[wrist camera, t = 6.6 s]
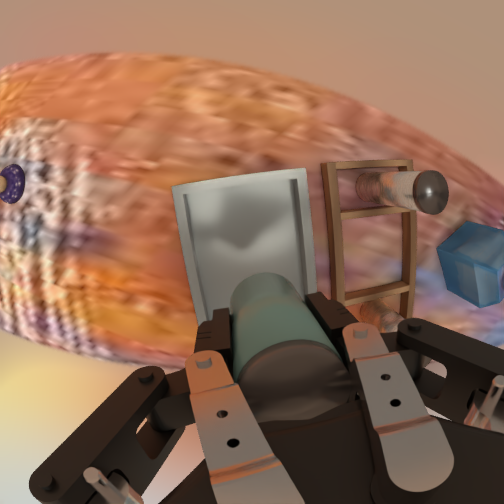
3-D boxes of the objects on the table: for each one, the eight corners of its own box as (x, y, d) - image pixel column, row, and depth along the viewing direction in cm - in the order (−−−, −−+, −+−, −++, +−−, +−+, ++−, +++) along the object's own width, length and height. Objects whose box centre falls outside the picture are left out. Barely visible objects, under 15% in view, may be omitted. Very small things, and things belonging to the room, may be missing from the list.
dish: (298, 169, 24) (305, 167, 22) (312, 312, 27) (318, 322, 25) (176, 186, 23) (171, 186, 21) (204, 329, 26) (202, 341, 24)
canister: (383, 294, 27) (438, 336, 18) (382, 318, 28) (432, 365, 19) (360, 299, 27) (410, 347, 18) (359, 324, 28) (405, 376, 18)
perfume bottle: (436, 248, 27) (515, 280, 15) (466, 221, 27) (542, 241, 15) (447, 289, 28) (515, 329, 17) (475, 261, 28) (542, 290, 16)
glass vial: (379, 171, 24) (447, 170, 15) (382, 201, 25) (449, 212, 16) (353, 172, 24) (416, 170, 15) (356, 203, 25) (419, 216, 15)
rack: (403, 160, 24) (412, 159, 23) (404, 319, 28) (411, 325, 27) (320, 163, 24) (326, 162, 22) (332, 339, 28) (337, 346, 27)
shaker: (296, 267, 14) (356, 339, 7) (300, 329, 15) (348, 422, 8) (224, 278, 14) (225, 365, 7) (235, 340, 15) (245, 444, 8)
